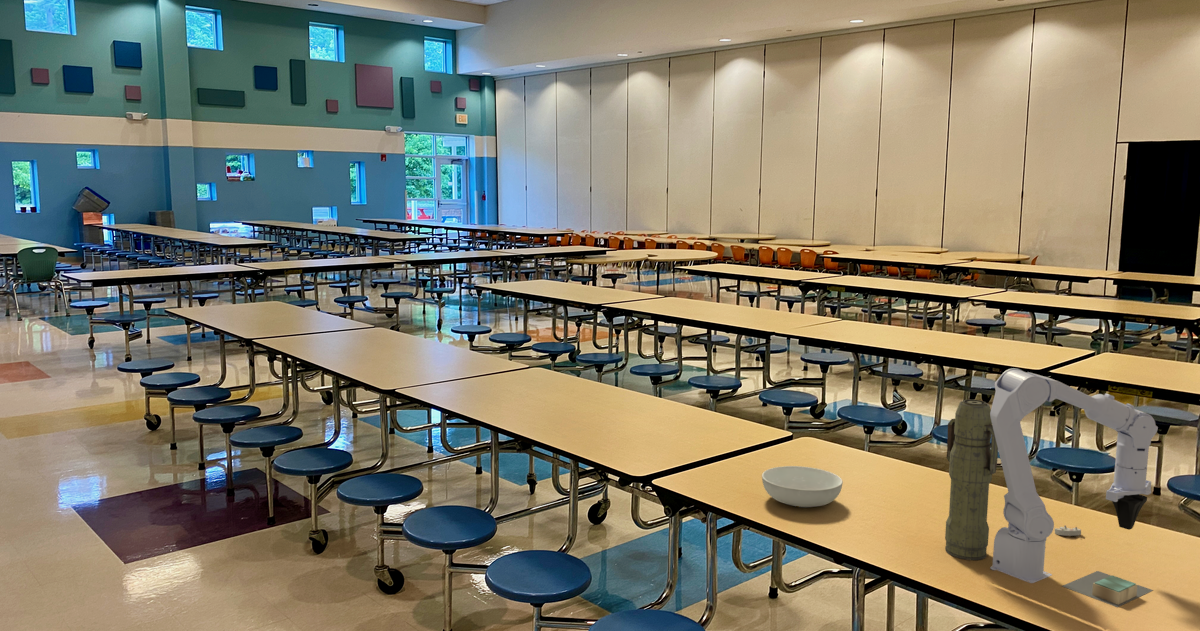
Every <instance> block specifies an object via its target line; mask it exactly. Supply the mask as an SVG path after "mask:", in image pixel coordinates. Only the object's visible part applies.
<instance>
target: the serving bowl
mask: <svg viewBox="0 0 1200 631" xmlns="http://www.w3.org/2000/svg"><path fill="white" fill-rule="evenodd" d="M761 479H762V484H763V489H764V490H765V491H766V493H767V495H769V496H770V497H771V498H772V499H774V500H775V501H777V502H779V503H782V504H785V505H788V506H792V507H796V506H799V507H798V508H813V507H821V506H825V505H827V504H830V503H832V502H833V501H834V500H836V499H837V497H838V496H839V495H840V494H841V491H842V488H843V483H844V482H843V479H842V478H841V477H840V476H839V475H838V474H835V473H834V472H831V471H829V470H825V469H821V468H817V467H810V466H803V465H802V466H800V465H798V466H797V465H787V466H786V465H784V466H775V467H771V468H768V469H766V470H764V471H763V472H762V474H761Z"/></svg>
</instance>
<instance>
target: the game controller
mask: <svg viewBox="0 0 1200 631" xmlns="http://www.w3.org/2000/svg"><path fill="white" fill-rule="evenodd" d="M1054 534H1055V535H1059V536H1065V537H1066V536H1068V537H1071V536H1072V537H1073V536H1074V537H1077V538H1078V537H1079V536H1081V535H1082V529H1080V528H1078V527H1077V526H1075V527H1072V528H1071V527H1070V528H1069V527H1067V525H1064V526H1059V528H1056V527H1054ZM1079 538H1080V537H1079Z"/></svg>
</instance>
